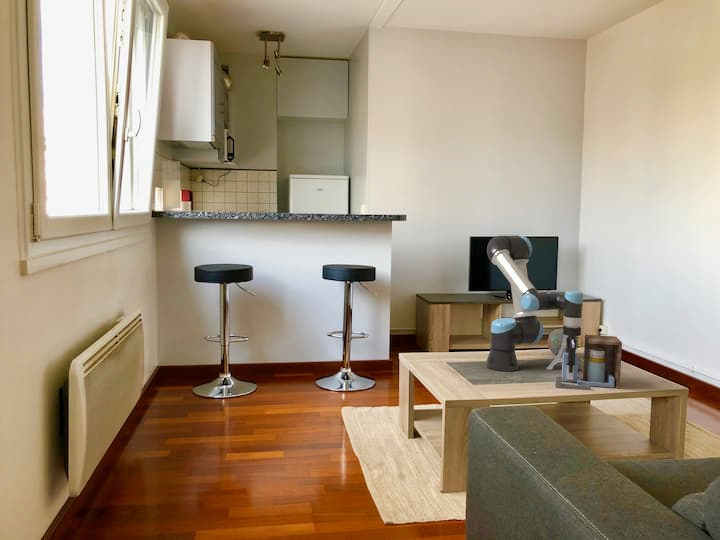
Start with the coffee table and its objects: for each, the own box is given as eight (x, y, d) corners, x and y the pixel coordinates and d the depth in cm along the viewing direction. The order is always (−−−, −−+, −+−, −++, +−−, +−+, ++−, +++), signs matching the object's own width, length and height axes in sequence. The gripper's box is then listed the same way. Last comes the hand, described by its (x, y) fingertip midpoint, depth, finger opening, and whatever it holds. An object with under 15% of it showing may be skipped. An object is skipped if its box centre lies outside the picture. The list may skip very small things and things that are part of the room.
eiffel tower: (546, 369, 283) (549, 307, 280) (558, 364, 293) (561, 304, 290) (573, 374, 274) (576, 310, 271) (584, 369, 284) (588, 307, 281)
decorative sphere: (549, 359, 302) (550, 330, 301) (544, 352, 317) (546, 325, 315) (579, 360, 300) (581, 331, 298) (573, 354, 314) (575, 326, 313)
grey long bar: (555, 387, 251) (556, 376, 251) (555, 386, 254) (555, 375, 253) (590, 390, 248) (591, 379, 248) (589, 389, 251) (590, 377, 250)
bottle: (603, 381, 262) (605, 348, 260) (604, 386, 255) (606, 352, 254) (586, 380, 264) (588, 347, 263) (587, 384, 258) (589, 350, 256)
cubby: (587, 386, 254) (589, 340, 252) (582, 378, 266) (585, 334, 265) (619, 389, 251) (622, 342, 249) (613, 380, 264) (615, 336, 262)
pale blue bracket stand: (563, 383, 256) (565, 356, 255) (561, 377, 266) (562, 351, 265) (613, 387, 252) (615, 360, 251) (609, 380, 262) (611, 354, 261)
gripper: (584, 330, 250) (580, 384, 253) (578, 323, 267) (575, 373, 269) (565, 329, 252) (562, 382, 254) (561, 322, 268) (558, 372, 271)
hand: (569, 377), depth 262 cm, fingers closed on pale blue bracket stand, 4 cm apart
